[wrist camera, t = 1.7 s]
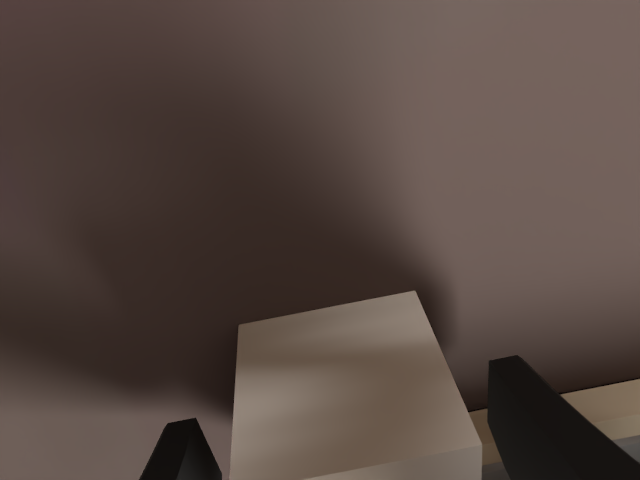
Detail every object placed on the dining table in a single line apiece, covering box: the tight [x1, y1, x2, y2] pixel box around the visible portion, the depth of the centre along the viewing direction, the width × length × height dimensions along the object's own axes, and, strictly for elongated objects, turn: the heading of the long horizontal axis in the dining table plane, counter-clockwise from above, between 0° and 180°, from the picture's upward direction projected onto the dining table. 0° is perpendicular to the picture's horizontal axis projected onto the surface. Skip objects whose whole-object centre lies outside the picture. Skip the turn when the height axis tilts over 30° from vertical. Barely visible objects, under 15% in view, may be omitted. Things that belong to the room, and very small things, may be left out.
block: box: [229, 291, 482, 480], centre depth 10 cm, size 4×4×4 cm
